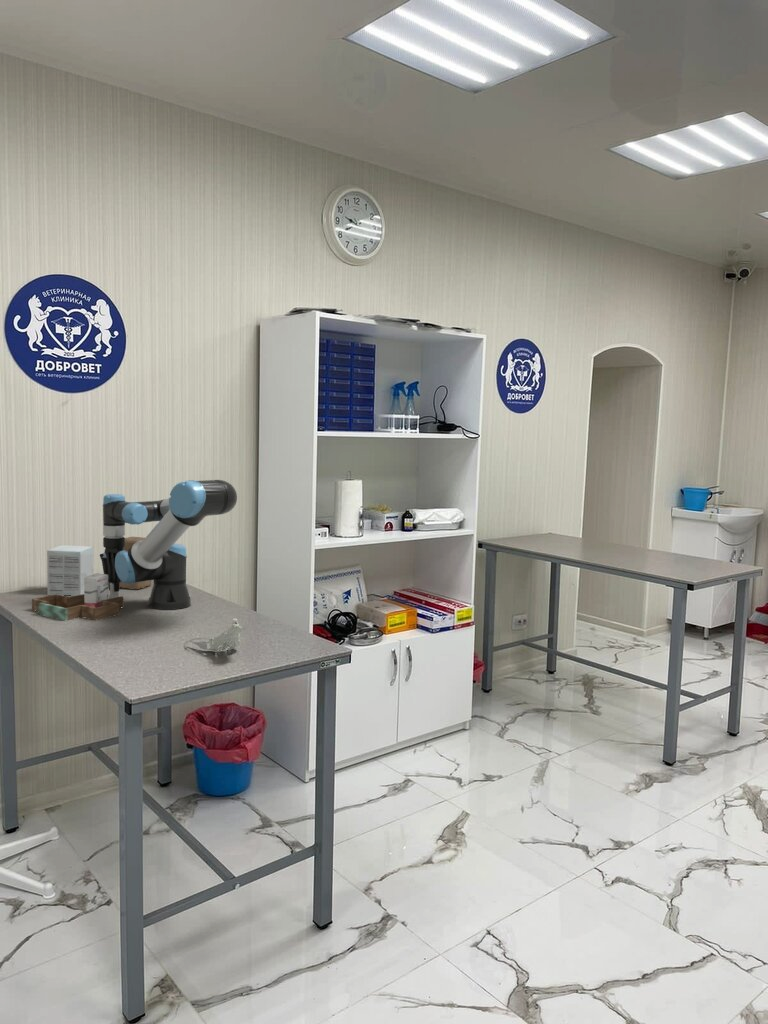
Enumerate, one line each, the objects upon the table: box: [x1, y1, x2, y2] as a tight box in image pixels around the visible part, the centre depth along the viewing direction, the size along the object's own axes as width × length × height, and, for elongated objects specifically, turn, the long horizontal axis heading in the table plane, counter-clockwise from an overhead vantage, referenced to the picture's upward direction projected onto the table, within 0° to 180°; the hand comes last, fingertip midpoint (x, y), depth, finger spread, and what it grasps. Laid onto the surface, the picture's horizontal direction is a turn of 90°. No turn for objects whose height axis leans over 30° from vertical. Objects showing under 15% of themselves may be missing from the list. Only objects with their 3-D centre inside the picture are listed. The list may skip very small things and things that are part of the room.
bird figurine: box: [184, 618, 246, 653], centre depth 234 cm, size 16×9×25 cm
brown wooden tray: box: [31, 594, 124, 621], centre depth 277 cm, size 28×24×4 cm
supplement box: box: [46, 544, 94, 597], centre depth 305 cm, size 13×13×18 cm
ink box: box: [84, 573, 109, 608], centre depth 282 cm, size 9×5×12 cm, turn 168°
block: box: [119, 536, 152, 590], centre depth 318 cm, size 10×10×20 cm
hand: (114, 599), depth 289 cm, fingers closed
